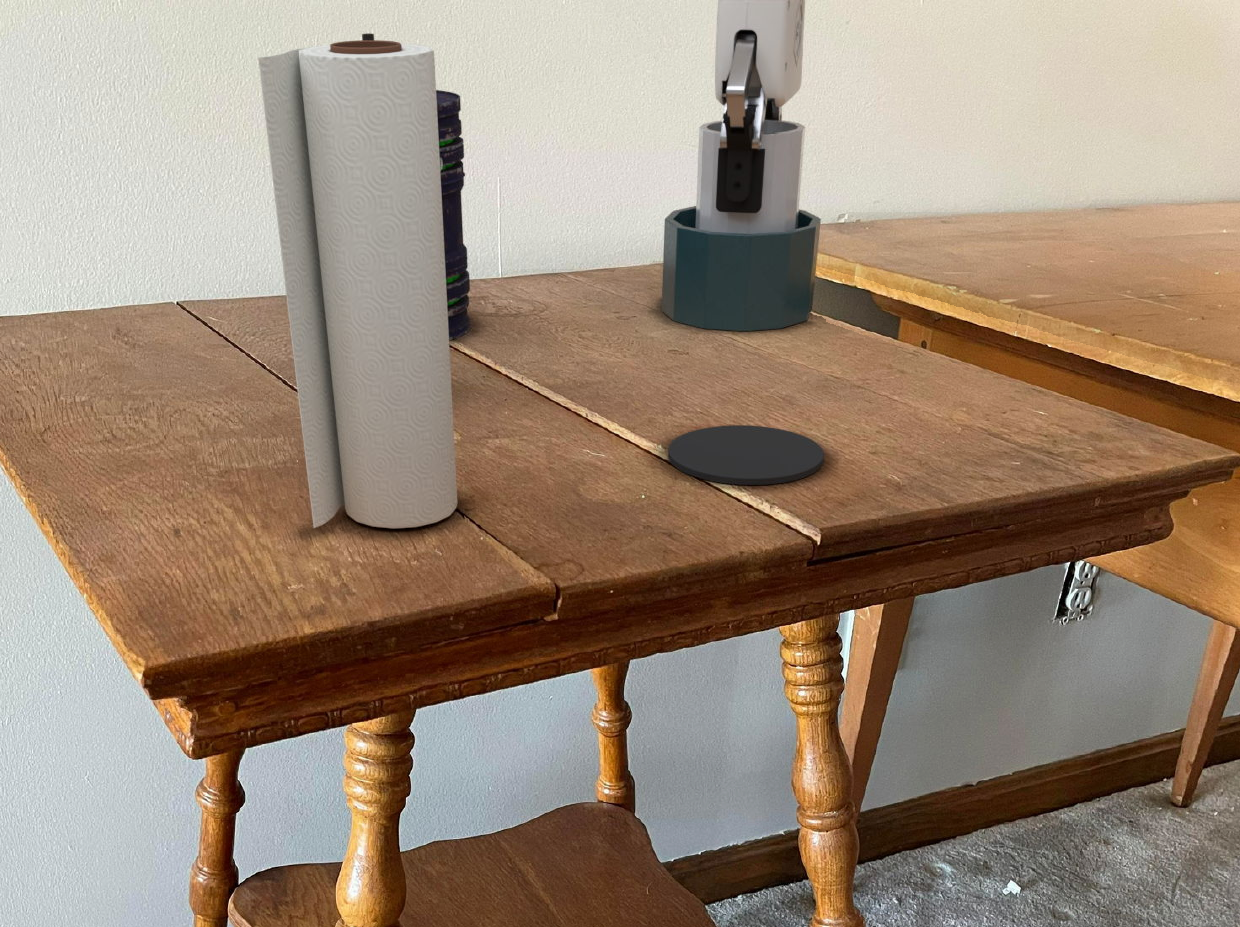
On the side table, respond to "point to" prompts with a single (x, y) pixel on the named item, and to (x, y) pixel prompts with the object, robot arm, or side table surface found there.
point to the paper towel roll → (365, 276)
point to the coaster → (745, 455)
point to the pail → (738, 274)
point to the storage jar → (453, 212)
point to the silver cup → (778, 181)
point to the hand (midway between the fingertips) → (747, 199)
